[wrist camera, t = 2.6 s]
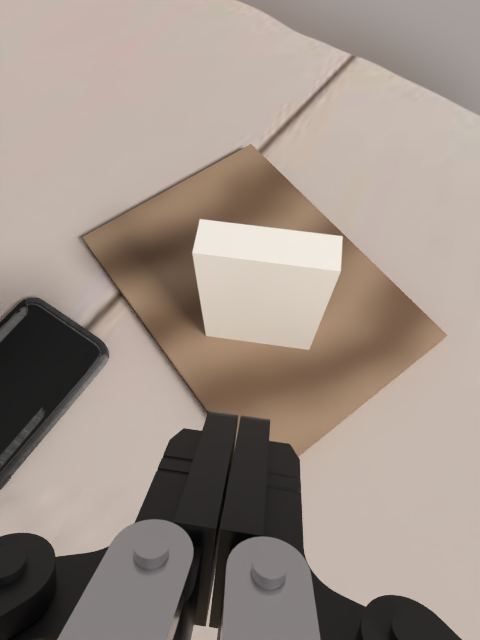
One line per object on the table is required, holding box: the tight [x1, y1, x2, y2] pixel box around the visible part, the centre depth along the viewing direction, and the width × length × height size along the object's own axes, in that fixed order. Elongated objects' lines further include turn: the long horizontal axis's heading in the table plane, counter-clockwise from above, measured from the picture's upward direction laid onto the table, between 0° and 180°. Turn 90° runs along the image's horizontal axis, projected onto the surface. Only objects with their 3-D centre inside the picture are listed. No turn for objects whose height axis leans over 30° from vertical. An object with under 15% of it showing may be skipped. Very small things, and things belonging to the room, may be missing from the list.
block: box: [192, 219, 343, 350], centre depth 26 cm, size 2×7×10 cm, turn 82°
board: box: [83, 144, 447, 457], centre depth 32 cm, size 22×16×1 cm
